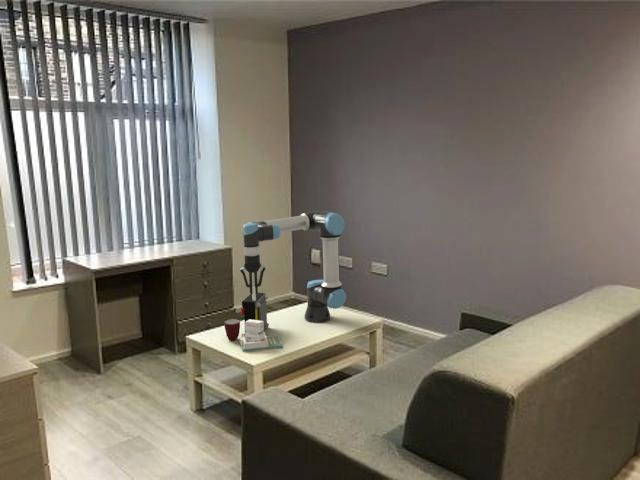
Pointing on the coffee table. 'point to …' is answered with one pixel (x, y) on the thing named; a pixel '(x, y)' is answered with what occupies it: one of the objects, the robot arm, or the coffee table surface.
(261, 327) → the ink box
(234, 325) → the mug
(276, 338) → the board
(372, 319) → the coffee table surface
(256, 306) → the electrical component
